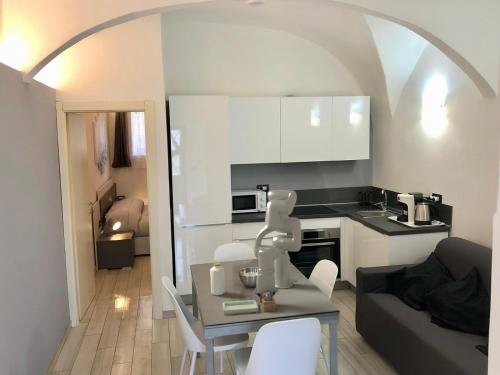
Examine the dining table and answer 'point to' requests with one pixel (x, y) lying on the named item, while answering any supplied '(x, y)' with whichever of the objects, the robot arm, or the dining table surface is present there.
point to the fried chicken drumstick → (268, 304)
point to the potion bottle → (217, 279)
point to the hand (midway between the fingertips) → (266, 303)
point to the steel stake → (268, 297)
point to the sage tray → (240, 307)
